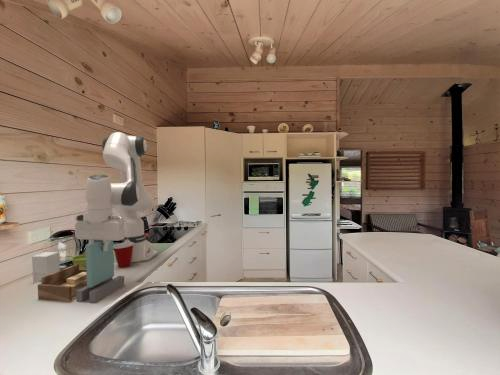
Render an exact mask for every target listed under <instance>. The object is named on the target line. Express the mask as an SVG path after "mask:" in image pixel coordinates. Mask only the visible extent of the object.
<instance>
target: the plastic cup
mask: <svg viewBox="0 0 500 375" xmlns="http://www.w3.org/2000/svg"><path fill="white" fill-rule="evenodd" d="M113 245H114V257H115V260H116V262H117V267H118V268H121V269H123V268H129V267H130V266H131V263H132V262H131V258H132V250H133V245H134V242H125V243H123V242H121V243H120V242H119V243H116V244H113Z"/></svg>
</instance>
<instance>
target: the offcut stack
mask: <svg viewBox="0 0 500 375" xmlns="http://www.w3.org/2000/svg"><path fill="white" fill-rule="evenodd" d="M66 280H67V284H66V285H64V286H71V289H72V297H74V296H76V291H77V290H79V289H81V288H83V287H85V286H87V273H86V272H82V273H79V274H77V275H75V276H72V277H70V278H68V279H66Z"/></svg>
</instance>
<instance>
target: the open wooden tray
mask: <svg viewBox="0 0 500 375" xmlns="http://www.w3.org/2000/svg"><path fill="white" fill-rule="evenodd" d="M82 272H86V269H79V264H76V265H74V264H73V265H70V266H68V267H65V268H62V269H60V271H57V272H55V273H52V274H49V275H47V276H44V277H42V278H41V281H40V282H41V283H39V284H37V300H40V301H41V300H42V301H51V302H62V303H63V302H64V303H72V302H73V301H75V300H76V296H74V297H72V289H71V286H64V285H66V284H67V280H66V279H68V278H70V277H72V276H75V275H77V274H79V273H82Z"/></svg>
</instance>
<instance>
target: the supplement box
mask: <svg viewBox="0 0 500 375" xmlns="http://www.w3.org/2000/svg"><path fill="white" fill-rule="evenodd" d="M31 262H32V265H31V266H32V283H33V285H34V284H36V283H39V282H41V278H42V277H44V276H47V275H49V274H52V273H55V272H57V271H60V270H61V262H60V252H59V251H57V252H56V251H44V252H42V253H38V254H35V255H32V256H31Z"/></svg>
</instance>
